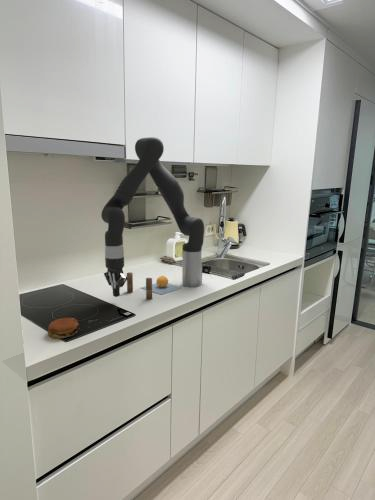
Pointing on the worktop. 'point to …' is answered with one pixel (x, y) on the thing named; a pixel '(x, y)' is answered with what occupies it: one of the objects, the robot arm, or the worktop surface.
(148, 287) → the post
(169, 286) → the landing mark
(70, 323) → the burger
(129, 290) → the post
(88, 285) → the worktop surface
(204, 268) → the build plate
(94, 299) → the worktop surface
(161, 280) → the ball
